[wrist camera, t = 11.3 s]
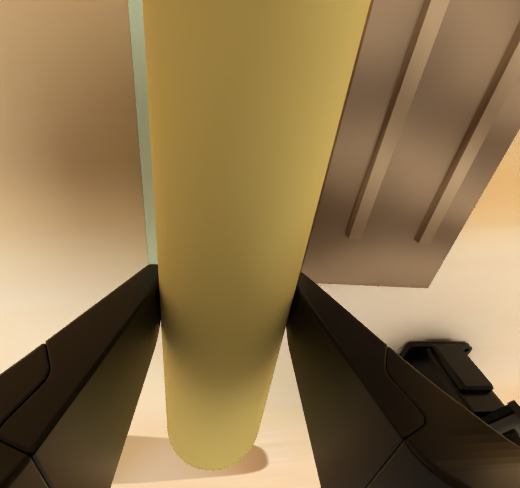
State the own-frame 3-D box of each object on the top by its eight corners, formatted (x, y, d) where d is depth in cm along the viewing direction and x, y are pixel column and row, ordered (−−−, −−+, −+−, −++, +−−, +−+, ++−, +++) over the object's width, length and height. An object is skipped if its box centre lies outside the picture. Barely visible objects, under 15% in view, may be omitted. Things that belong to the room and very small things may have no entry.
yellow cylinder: (255, 374, 13) (264, 467, 10) (175, 374, 12) (158, 473, 9) (329, 23, 6) (421, -20, 3) (165, -10, 6) (97, -96, 3)
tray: (271, 295, 21) (275, 316, 19) (159, 291, 20) (152, 313, 18) (333, 0, 12) (351, -12, 10) (139, -42, 11) (122, -63, 9)
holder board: (421, 281, 22) (432, 292, 21) (296, 275, 20) (300, 287, 19) (676, -181, 10) (729, -211, 9) (438, -277, 9) (467, -326, 8)
